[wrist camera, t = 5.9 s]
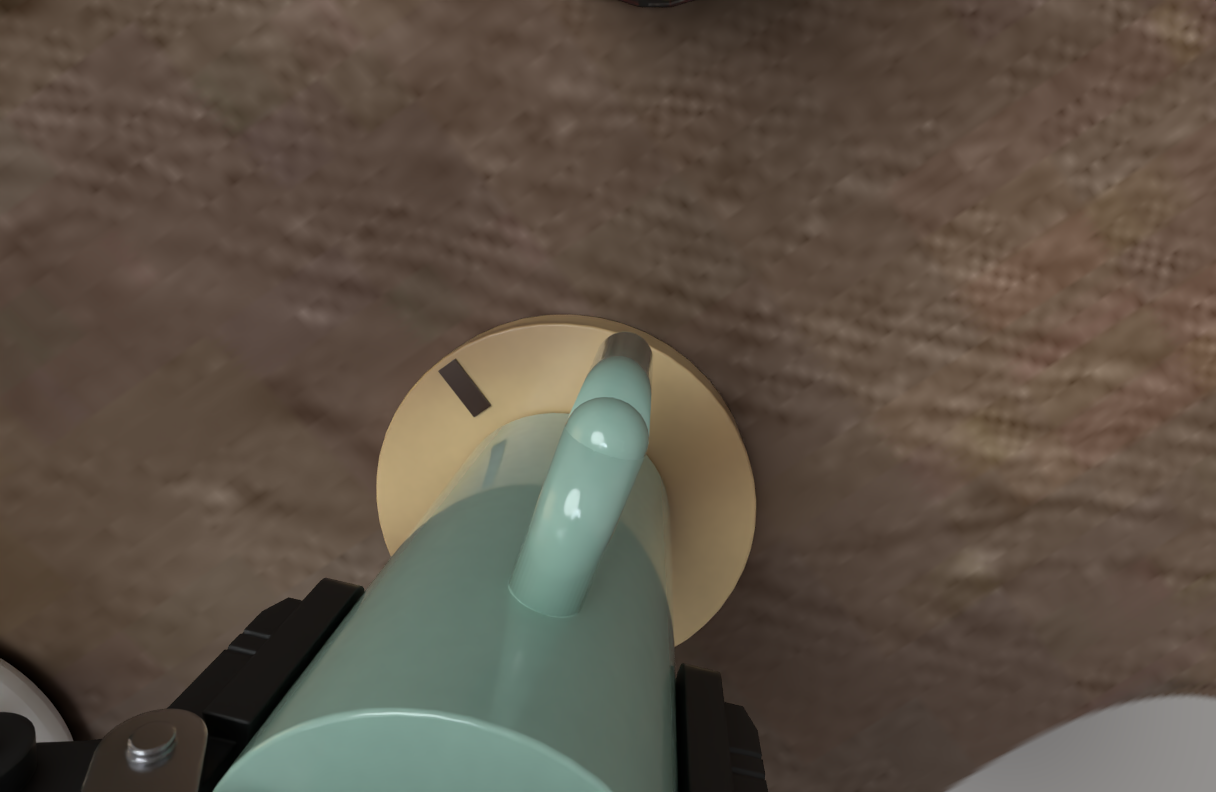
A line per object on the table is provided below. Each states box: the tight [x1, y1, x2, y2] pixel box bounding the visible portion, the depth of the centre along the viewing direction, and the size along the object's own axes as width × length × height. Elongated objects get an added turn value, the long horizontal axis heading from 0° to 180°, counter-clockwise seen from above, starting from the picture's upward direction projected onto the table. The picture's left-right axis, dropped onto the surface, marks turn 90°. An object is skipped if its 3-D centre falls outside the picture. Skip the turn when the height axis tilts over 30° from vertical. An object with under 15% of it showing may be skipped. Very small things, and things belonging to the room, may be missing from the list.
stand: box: [377, 314, 756, 647], centre depth 20 cm, size 11×11×2 cm
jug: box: [212, 332, 679, 792], centre depth 13 cm, size 11×6×11 cm, turn 160°
